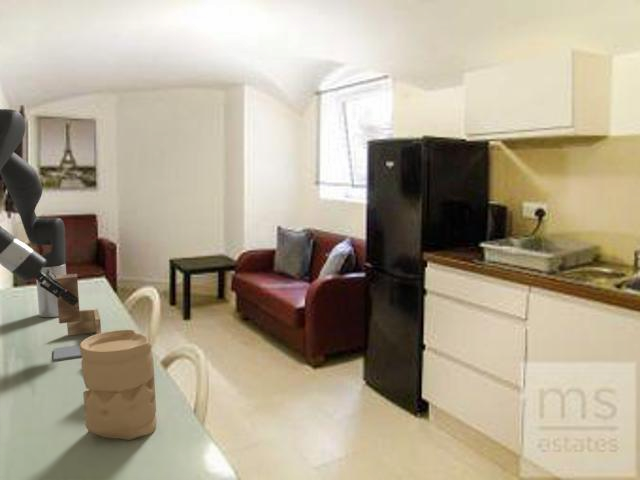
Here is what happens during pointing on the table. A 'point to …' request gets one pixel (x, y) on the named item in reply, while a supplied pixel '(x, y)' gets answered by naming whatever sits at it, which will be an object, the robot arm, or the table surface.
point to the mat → (67, 353)
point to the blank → (64, 308)
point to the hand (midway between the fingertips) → (76, 300)
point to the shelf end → (85, 323)
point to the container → (119, 384)
